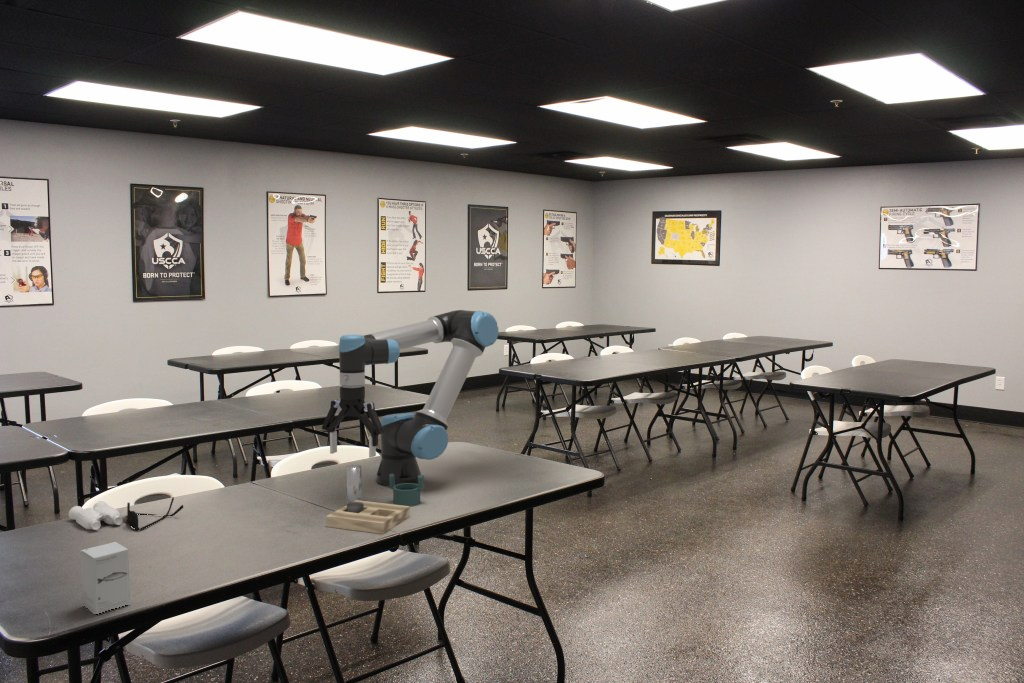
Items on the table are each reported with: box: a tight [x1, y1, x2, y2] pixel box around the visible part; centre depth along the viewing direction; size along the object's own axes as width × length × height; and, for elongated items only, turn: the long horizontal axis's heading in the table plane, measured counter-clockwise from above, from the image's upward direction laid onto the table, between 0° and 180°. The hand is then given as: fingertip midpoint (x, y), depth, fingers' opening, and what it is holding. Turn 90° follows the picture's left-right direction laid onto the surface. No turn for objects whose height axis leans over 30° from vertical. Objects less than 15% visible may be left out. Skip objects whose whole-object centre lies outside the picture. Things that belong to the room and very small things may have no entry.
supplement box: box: [79, 541, 131, 615], centre depth 165 cm, size 7×7×13 cm
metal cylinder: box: [346, 464, 363, 505], centre depth 236 cm, size 4×4×12 cm
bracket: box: [388, 474, 425, 508], centre depth 239 cm, size 9×9×9 cm
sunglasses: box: [126, 496, 184, 532], centre depth 222 cm, size 17×14×5 cm
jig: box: [326, 500, 411, 535], centre depth 221 cm, size 16×18×4 cm
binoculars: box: [68, 501, 124, 531], centre depth 219 cm, size 10×16×5 cm, turn 46°
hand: (352, 454), depth 235 cm, fingers open, 13 cm apart
